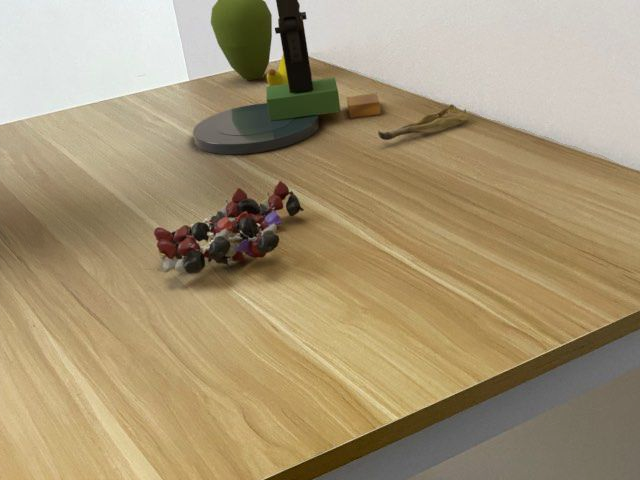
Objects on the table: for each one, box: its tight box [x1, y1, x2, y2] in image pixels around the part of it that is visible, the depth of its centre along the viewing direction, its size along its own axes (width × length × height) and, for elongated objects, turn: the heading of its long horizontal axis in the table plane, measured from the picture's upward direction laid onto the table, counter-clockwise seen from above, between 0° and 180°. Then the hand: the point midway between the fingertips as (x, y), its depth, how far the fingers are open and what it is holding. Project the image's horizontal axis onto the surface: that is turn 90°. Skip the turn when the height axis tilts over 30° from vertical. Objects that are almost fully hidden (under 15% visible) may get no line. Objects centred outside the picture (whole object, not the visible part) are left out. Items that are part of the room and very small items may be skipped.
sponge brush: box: [265, 16, 341, 121], centre depth 101 cm, size 9×6×10 cm, turn 97°
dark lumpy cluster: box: [153, 180, 304, 274], centre depth 76 cm, size 15×14×5 cm
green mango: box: [210, 0, 273, 81], centre depth 118 cm, size 9×8×12 cm
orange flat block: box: [346, 92, 382, 119], centre depth 105 cm, size 4×4×2 cm
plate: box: [192, 102, 320, 155], centre depth 103 cm, size 16×16×1 cm
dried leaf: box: [377, 104, 470, 141], centre depth 97 cm, size 4×13×2 cm, turn 125°
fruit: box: [266, 54, 288, 86], centre depth 114 cm, size 10×2×5 cm, turn 174°
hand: (301, 85), depth 102 cm, fingers closed on sponge brush, 3 cm apart
